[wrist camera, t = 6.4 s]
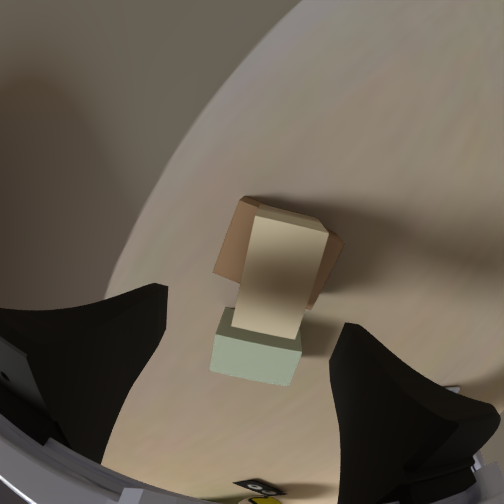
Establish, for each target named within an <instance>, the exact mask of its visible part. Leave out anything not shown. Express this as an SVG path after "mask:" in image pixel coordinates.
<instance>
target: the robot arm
mask: <svg viewBox="0 0 504 504" xmlns="http://www.w3.org/2000/svg"><path fill="white" fill-rule="evenodd" d="M167 300H168V286H165V285H161V284H157V283H152V284H148V285H145V286H143V287H140V288H137V289H134V290H132V291H129V292H126V293H123V294H121V295H118V296H115V297H112V298H109V299H105V300H102V301H99V302H96V303H92V304H88V305H83V306H78V307H73V308H64V309H55V310H42V311H41V310H39V311H34V310H30V311H29V310H15V309H4V308H0V480H1V481H2V482H3V483H5V484H6V485H7V486H8V487H9V488H10V489H12V490H13V491H14V492H15V493H16V494H18V495H19V496H20V497H22V498H23V499H24V500H26V501H27V502H28V503H29V504H222V503H217V502H212V501H207V500H202V499H198V498H193V497H189V496H185V495H182V494H178V493H174V492H171V491H167V490H164V489H161V488H158V487H155V486H152V485H149V484H146V483H143V482H140V481H138V480H135V479H132V478H130V477H127V476H125V475H122V474H120V473H118V472H115V471H113V470H111V469H108V468H106V467H104V466H102V465H101V462H102V459H103V455H104V452H105V449H106V446H107V443H108V440H109V437H110V435H111V432H112V429H113V427H114V424H115V422H116V419H117V417H118V415H119V412H120V410H121V408H122V406H123V403H124V401H125V399H126V397H127V395H128V393H129V391H130V389H131V387H132V386H133V384H134V382H135V381H136V379H137V378H138V376H139V375H140V373H141V371H142V370H143V368H144V367H145V365H146V364H147V362H148V361H149V359H150V358H151V356H152V355H153V353H154V352H155V350H156V348H157V347H158V345H159V343H160V341H161V339H162V336H163V334H164V332H165V330H166V319H167ZM329 370H330V383H331V388H332V393H333V398H334V403H335V408H336V413H337V418H338V423H339V431H340V449H341V466H340V485H339V496H338V503H337V504H504V475H503V473H502V471H501V469H500V466H499V464H498V462H496V461H495V462H493V463H491V464H488V465H487V464H486V462H485V460H484V458H483V456H482V454H481V452H480V450H479V449H480V448H481V447H482V446H483V445H484V444H485V443H486V442H487V441H488V440H489V439H490V438H491V436H492V435H493V434H494V433H495V431H496V430H497V428H498V426H499V424H500V421H501V418H500V415H499V414H498V412H497V411H496V409H495V407H494V406H493V405H491V404H489V403H485V402H481V401H478V400H474V399H471V398H468V397H465V396H462V395H460V394H458V392H459V391H460V388H459V387H448V388H444V387H442V386H440V385H438V384H436V383H434V382H433V381H431V380H429V379H427V378H426V377H424V376H423V375H421V374H420V373H418V372H417V371H415V370H414V369H412V368H411V367H410V366H408V365H407V364H406V363H404V362H403V361H402V360H401V359H399V358H398V357H397V356H396V355H394V354H393V353H392V352H391V351H390V350H388V349H387V348H386V347H385V346H384V345H383V344H382V343H381V342H379V341H378V340H377V339H376V338H375V337H374V336H373V335H372V334H370V333H369V332H368V331H367V330H366V329H364V328H363V327H362V326H360V325H359V324H353V323H346V322H345V324H344V327H343V329H342V332H341V334H340V337H339V339H338V341H337V344H336V346H335V349H334V351H333V353H332V356H331V358H330V360H329Z"/></svg>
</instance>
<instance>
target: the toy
mask: <svg viewBox="0 0 504 504" xmlns="http://www.w3.org/2000/svg"><path fill="white" fill-rule="evenodd" d="M234 484H236V485H239V486H241V487H244V488H247V489H249V490H252V491H255V492H258V493H260V494H263V495H266V496H263V495H257V496H251V497H248V498H246V499H243V500H242V501H240V502H239V503H238V504H282V503H281V502H279V501H278V500H276V499H274V498H272V497H269V496H276V495H285V494H286V493H283V492H280V491H278V490H275V489H272V488H270V487H267V486H264V485H262V484H259V483H257V482H255V481H247V482H235V483H234Z"/></svg>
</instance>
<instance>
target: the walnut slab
mask: <svg viewBox="0 0 504 504" xmlns="http://www.w3.org/2000/svg"><path fill="white" fill-rule="evenodd" d="M260 204H261V205H265V206H269V205H266V204H264V203H261V202H259V201H256V200H254V199H251V198H249V197H246V196H244V197H242V198H241V199H240V200H239V202H238V205H237V207H236V210H235V213H234V215H233V218H232V221H231V223H230V226H229V229H228V231H227V234H226V237H225V239H224V242H223V245H222V247H221V250H220V253H219V256H218V258H217V261H216V264H215V267H214V270H213V272H212V273H215V274H217V275H220V276H222V277H225V278H227V279H230V280H232V281H235V282H237V283H241V278H242V274H243V269H244V265H245V260H246V255H247V251H248V246H249V242H250V237H251V232H252V228H253V223H254V219H255V215H256V213H257V210H258V208H259V206H260ZM270 207H271V206H270ZM327 231H328V230H327ZM328 233H329V235H328V239H327V242H326V246H325V249H324V252H323V256H322V259H321V262H320V266H319V269H318V272H317V275H316V279H315V282H314V285H313V288H312V291H311V294H310V297H309V300H308V303H307V306H306V309H309V310H311V309H312V307H313V305H314V303H315V302H316V300H317V298H318V296H319V294H320V292H321V290H322V288H323V286H324V284H325V283H326V281H327V279H328V277H329V275H330V273H331V271H332V269H333V267H334V265H335V263H336V261H337V259H338V257H339V255H340V252H341V250H342V248H343V246H344V243H343V241H342V240H341V239H340V238H339V237H338V236H337V234H335V233H333V232H331V231H328Z"/></svg>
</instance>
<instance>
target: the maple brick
mask: <svg viewBox="0 0 504 504" xmlns="http://www.w3.org/2000/svg"><path fill="white" fill-rule="evenodd" d="M328 235H329V233H328V231H327V230H326V229H325V227H324V226H323V225H322V224H321V222H320V221H319V220H318V218H315V217H311V216H307V215H303V214H299V213H295V212H291V211H287V210H283V209H278V208H274V207H270V206H265V205H261V204H260V206H259V208H258V210H257V213H256V215H255V219H254V223H253V228H252V232H251V237H250V242H249V246H248V251H247V255H246V260H245V265H244V269H243V274H242V278H241V283H240V288H239V292H238V297H237V301H236V306H235V311H234V315H233V320H232V325H231V326H233V327H237V328H242V329H246V330H250V331H255V332H260V333H264V334H269V335H274V336H279V337H284V338H289V339H294V340H295V338H296V335H297V332H298V330H299V327H300V324H301V321H302V318H303V315H304V312H305V309H306V306H307V303H308V300H309V297H310V294H311V291H312V288H313V285H314V282H315V279H316V275H317V272H318V269H319V266H320V262H321V259H322V256H323V252H324V249H325V246H326V242H327V239H328Z"/></svg>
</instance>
